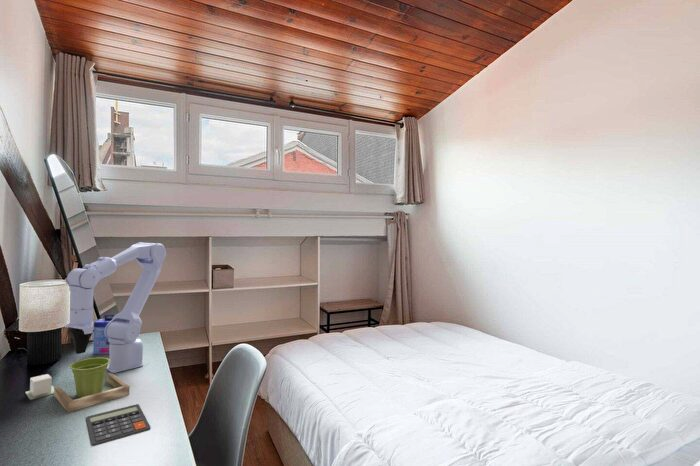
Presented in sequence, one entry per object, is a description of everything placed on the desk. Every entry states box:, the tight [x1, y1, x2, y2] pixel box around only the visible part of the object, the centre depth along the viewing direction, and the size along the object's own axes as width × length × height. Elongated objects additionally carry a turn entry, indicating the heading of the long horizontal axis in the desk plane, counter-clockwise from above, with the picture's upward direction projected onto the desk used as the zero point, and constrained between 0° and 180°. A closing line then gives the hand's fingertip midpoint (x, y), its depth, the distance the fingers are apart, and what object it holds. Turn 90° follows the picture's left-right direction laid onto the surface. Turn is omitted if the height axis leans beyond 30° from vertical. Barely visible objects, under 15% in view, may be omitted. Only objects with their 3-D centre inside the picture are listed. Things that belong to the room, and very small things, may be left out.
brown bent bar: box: [25, 372, 130, 413], centre depth 106 cm, size 19×21×2 cm
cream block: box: [29, 373, 53, 396], centre depth 106 cm, size 4×4×4 cm
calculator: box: [85, 403, 151, 446], centre depth 91 cm, size 12×1×15 cm
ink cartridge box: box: [92, 314, 116, 355], centre depth 141 cm, size 10×6×14 cm, turn 104°
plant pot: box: [69, 357, 110, 398], centre depth 107 cm, size 9×9×9 cm
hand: (80, 352), depth 113 cm, fingers closed
